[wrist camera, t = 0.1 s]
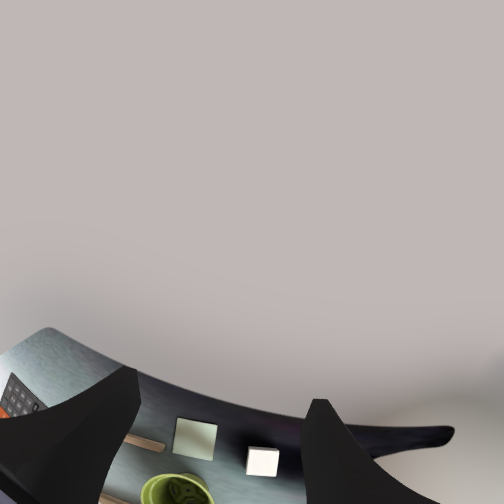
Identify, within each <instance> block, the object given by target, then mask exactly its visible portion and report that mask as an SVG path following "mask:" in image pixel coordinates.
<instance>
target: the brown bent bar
mask: <svg viewBox="0 0 504 504" xmlns="http://www.w3.org/2000/svg"><path fill="white" fill-rule="evenodd" d="M216 431H217V425H213V424H207V423H201V422H196V421H191V420H186V419H181V418H178V420H177V426H176V432H175V439H174V445H173V452H172V453H176V454H180V455H185V456H189V457H194V458H199V459H205V460H210V461H212V460H213V452H214V445H215V438H216ZM124 442H127V443H130V444H133V445H136V446H140V447H143V448H146V449H149V450H153V451H157V452H162V451H164V448H165V444H163V443H159V442H156V441H152V440H148V439H145V438H142V437H138V436H135V435H132V434H129V433H128V434H127V435H126V437H125V439H124ZM99 502H100V503H102V504H131V503H128V502H125V501H122V500H120V499H117V498H115V497H112V496H110V495H107V494H105V493H102V492H101V494H100V498H99Z"/></svg>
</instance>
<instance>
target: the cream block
mask: <svg viewBox="0 0 504 504" xmlns="http://www.w3.org/2000/svg"><path fill="white" fill-rule="evenodd" d="M278 457H279V451H278V450H277V449H276V448H263V447H251V446H249V447H248V455H247V462H246V474H248V475H260V476H276V472H277V464H278Z"/></svg>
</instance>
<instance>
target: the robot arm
mask: <svg viewBox="0 0 504 504" xmlns="http://www.w3.org/2000/svg"><path fill="white" fill-rule="evenodd" d="M140 405H141V397H140V391H139V384H138V376H137V370H136V369H133V368H130V367H126V366H123V367H121V368H119V369H118V370H116V371H115V372H113V373H112V374H110V375H109V376H107V377H106V378H104V379H103V380H101V381H100V382H98V383H96V384H95V385H93V386H92V387H90V388H88V389H87V390H85V391H83V392H82V393H80V394H78V395H76V396H74V397H72V398H70V399H69V400H66V401H64V402H62V403H60V404H57V405H55V406H52V407H50V408H47V409H44V410H41V411H37V412H34V413H30V414H26V415H21V416H16V417H9V418H0V504H98V502H99V498H100V494H101V491H102V488H103V485H104V482H105V479H106V476H107V474H108V471H109V468H110V466H111V463H112V461H113V459H114V457H115V455H116V453H117V452H118V450H119V448H120V446H121V444H122V443H123V441H124V439H125V437H126V435H127V434H128V432H129V430H130V428H131V426H132V424H133V422H134V420H135V418H136V415H137V413H138V410H139V407H140ZM301 456H302V463H303V471H304V478H305V486H306V495H307V504H440V503H437V502H435V501H433V500H431V499H429V498H426V497H424V496H422V495H420V494H418V493H416V492H415V491H413V490H411V489H409V488H408V487H406V486H405V485H403V484H402V483H400V482H399V481H398V480H396V479H395V478H393V477H392V476H391V475H389V474H388V473H387V472H386V471H385V470H383V469H382V468H381V467H380V466H379V465H378V464H377V463H376V462H374V460H373V459H372V458H371V457H370V456H369V455H368V454H367V453H366V452H365V450H364V449H363V448H362V447H361V446H360V445H359V443H358V442H357V441H356V440H355V438H354V437H353V436H352V434H351V433H350V432H349V430H348V429H347V428H346V426H345V425H344V423H343V422H342V420H341V419H340V418H339V416H338V415H337V413H336V411H335V410H334V408H333V407H332V405H331V404H330V402H329V401H328V400H327V399H313V400H312V403H311V405H310V408H309V410H308V413H307V415H306V418H305V420H304V423H303V425H302V427H301Z"/></svg>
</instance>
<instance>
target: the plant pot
mask: <svg viewBox="0 0 504 504" xmlns="http://www.w3.org/2000/svg"><path fill="white" fill-rule="evenodd" d="M172 487H174V491H175V494H174V493H173V491H172ZM187 489H189V490H190V491H189V492H188V491H186V490H187ZM203 491H204V492H205V493H203ZM140 498H141V503H142V504H214V501H213V498H212V496H211V495H210V493H209V491H208V487H207V485H206V483H205V482H204V481H203V480H202V479H200V478H199V477H197V476H196V475H193V474H188V473H182V474H161V475H157V476H155V477H153V478H151V479H149V480H148V481H147V482H146V483H145V484H144V486H143V487H142V490H141V495H140ZM188 501H190V502H194V501H196V503H188Z"/></svg>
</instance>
